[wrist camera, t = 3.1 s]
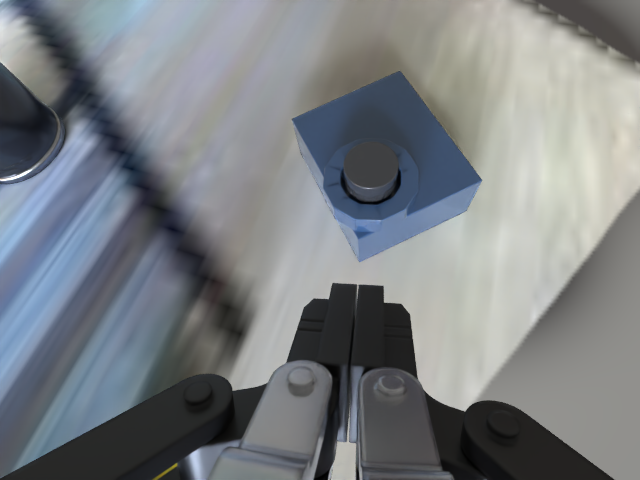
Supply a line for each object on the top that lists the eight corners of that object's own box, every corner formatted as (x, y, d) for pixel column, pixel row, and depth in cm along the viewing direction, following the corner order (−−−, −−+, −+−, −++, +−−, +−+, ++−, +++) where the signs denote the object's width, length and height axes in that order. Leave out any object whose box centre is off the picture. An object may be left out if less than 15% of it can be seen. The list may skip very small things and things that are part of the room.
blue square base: (293, 156, 37) (278, 105, 31) (396, 110, 38) (402, 50, 31) (352, 269, 32) (349, 236, 26) (468, 213, 33) (493, 167, 27)
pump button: (336, 171, 28) (333, 155, 26) (381, 150, 29) (382, 132, 27) (359, 211, 27) (358, 197, 25) (406, 189, 27) (409, 173, 25)
